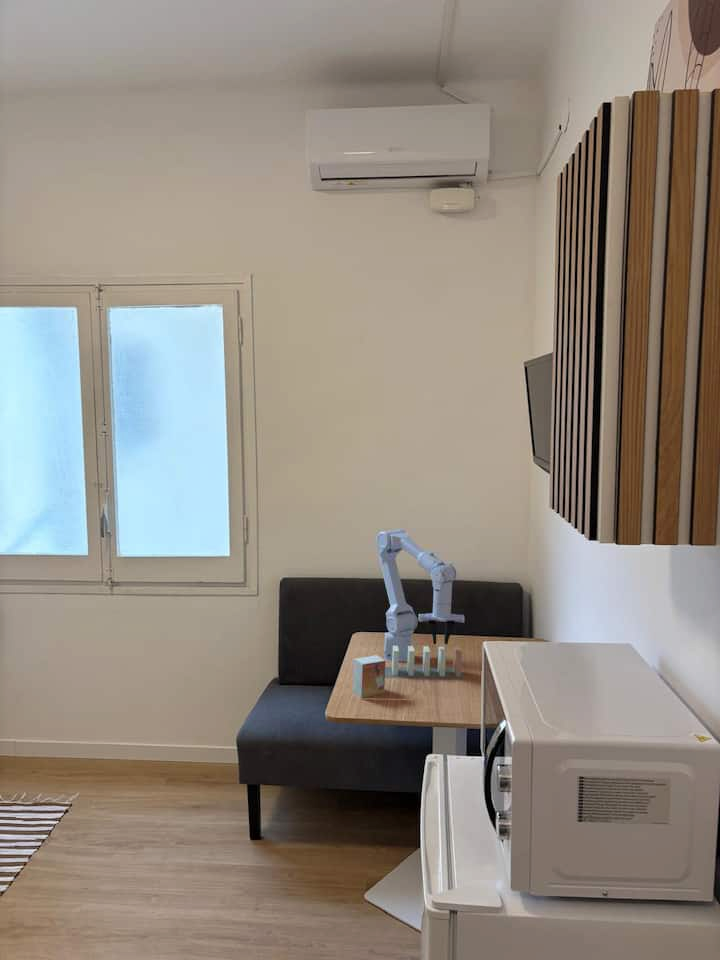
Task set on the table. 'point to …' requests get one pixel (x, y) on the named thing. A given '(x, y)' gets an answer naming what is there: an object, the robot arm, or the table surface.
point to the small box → (369, 676)
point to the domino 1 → (395, 660)
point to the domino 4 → (441, 661)
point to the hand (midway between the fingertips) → (440, 643)
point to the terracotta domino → (457, 661)
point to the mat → (419, 673)
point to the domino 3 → (426, 660)
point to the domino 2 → (410, 661)
